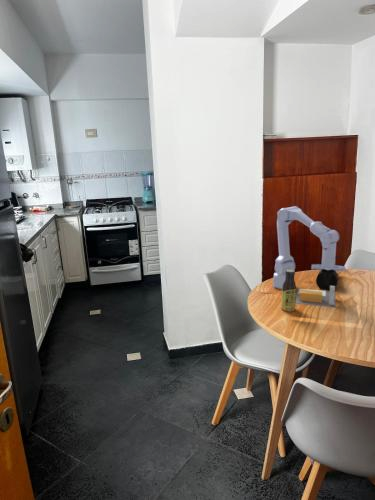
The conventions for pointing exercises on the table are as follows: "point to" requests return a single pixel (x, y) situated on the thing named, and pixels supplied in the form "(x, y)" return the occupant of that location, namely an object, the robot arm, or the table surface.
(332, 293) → the clasp
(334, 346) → the table surface
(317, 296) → the block
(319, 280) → the black and grey cylinder
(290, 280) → the sauce bottle
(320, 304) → the board
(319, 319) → the table surface
